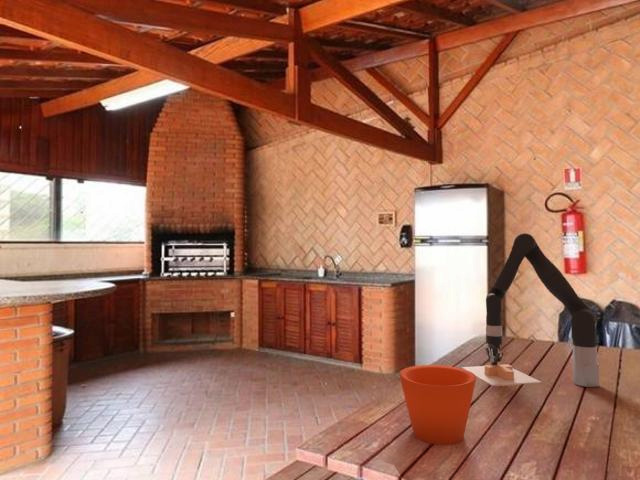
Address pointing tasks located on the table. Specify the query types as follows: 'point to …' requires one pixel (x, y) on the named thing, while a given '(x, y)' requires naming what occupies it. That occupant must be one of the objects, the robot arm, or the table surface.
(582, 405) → the table surface
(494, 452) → the table surface
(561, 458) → the table surface
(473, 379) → the flowerpot
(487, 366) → the t block
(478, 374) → the board
